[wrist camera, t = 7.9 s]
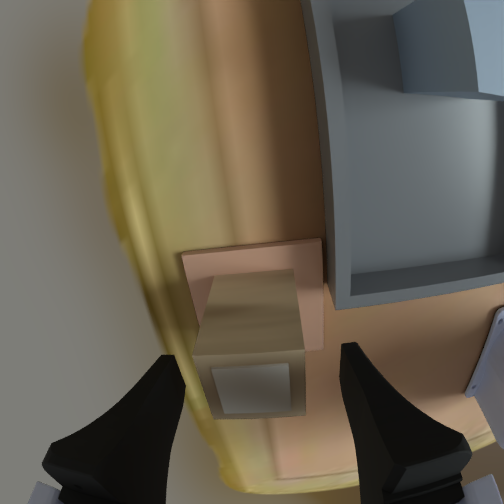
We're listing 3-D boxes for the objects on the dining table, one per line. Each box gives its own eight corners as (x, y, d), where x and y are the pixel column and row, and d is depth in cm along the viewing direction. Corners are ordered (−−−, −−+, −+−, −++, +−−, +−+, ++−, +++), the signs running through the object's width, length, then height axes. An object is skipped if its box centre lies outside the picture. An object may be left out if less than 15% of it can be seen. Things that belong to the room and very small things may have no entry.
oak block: (296, 330, 18) (305, 417, 12) (226, 335, 18) (213, 421, 13) (293, 268, 16) (305, 351, 11) (214, 275, 16) (191, 357, 11)
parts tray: (504, 259, 16) (525, 277, 14) (327, 283, 17) (335, 310, 15) (500, 2, 9) (525, -5, 7) (294, -32, 10) (298, -54, 8)
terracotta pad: (322, 343, 19) (323, 349, 18) (209, 352, 19) (208, 358, 19) (320, 237, 16) (321, 241, 15) (183, 251, 17) (181, 255, 16)
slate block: (470, 98, 12) (552, 107, 6) (403, 93, 12) (478, 91, 7) (460, 26, 10) (536, 7, 5) (392, 15, 11) (456, -25, 5)
